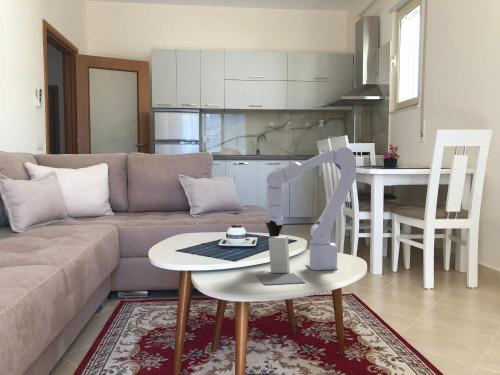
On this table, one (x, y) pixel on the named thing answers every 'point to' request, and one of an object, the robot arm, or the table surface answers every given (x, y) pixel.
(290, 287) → the table surface
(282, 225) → the robot arm
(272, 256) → the skincare box
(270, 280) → the mat
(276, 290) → the table surface
